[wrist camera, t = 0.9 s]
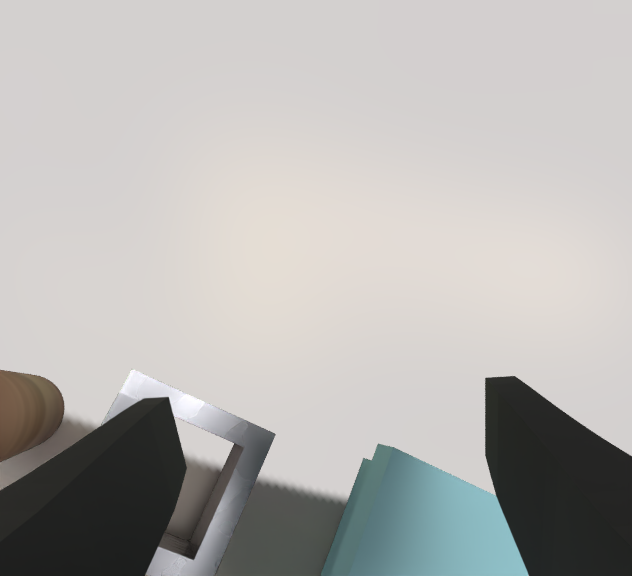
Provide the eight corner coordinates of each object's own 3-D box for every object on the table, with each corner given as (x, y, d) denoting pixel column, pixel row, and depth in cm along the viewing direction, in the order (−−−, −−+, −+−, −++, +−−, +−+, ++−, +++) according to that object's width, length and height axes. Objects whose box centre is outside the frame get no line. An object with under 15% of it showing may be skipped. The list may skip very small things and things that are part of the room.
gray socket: (199, 574, 21) (205, 596, 19) (53, 518, 20) (40, 535, 18) (263, 429, 23) (275, 434, 21) (134, 371, 22) (132, 368, 20)
